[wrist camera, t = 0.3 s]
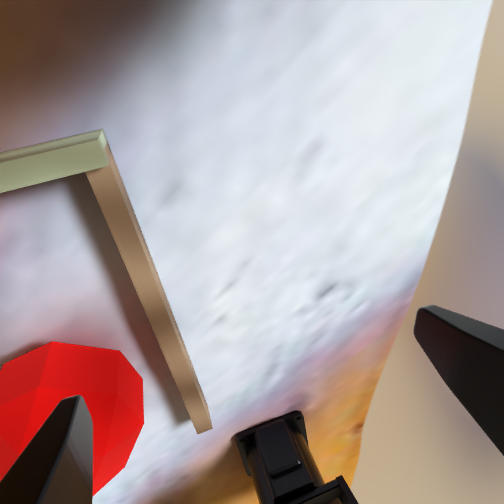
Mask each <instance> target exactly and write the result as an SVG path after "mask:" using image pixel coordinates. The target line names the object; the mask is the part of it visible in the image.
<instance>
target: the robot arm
mask: <svg viewBox="0 0 504 504" xmlns="http://www.w3.org/2000/svg"><path fill="white" fill-rule="evenodd" d="M414 335H415V338H416V340H417V341H418V343H419V344H420V346H421V347H422V349H423V350H424V352H425V353H426V355H427V356H428V358H429V359H430V361H431V362H432V364H433V365H434V367H435V368H436V370H437V371H438V373H439V374H440V376H441V377H442V379H443V380H444V381H445V383H446V385H447V386H448V387H449V388H450V390H451V391H452V392H453V394H454V395H455V396H456V397H457V398H458V400H459V401H460V402H461V404H462V405H463V406H464V407H465V408H466V410H467V411H468V412H469V413H470V415H471V416H472V417H473V418H474V419H475V421H476V422H477V423H478V425H479V426H480V427H481V428H482V430H483V431H484V432H485V433H486V434H487V436H488V437H489V438H490V439H491V441H492V442H493V443H494V444H495V446H496V447H497V448H498V449H499V451H500V452H501V453H502V454H503V456H504V330H503V329H500V328H498V327H495V326H492V325H489V324H486V323H483V322H481V321H478V320H475V319H472V318H469V317H466V316H464V315H461V314H458V313H455V312H452V311H449V310H446V309H444V308H441V307H438V306H435V305H429V306H424V307H421V308H419V309H418V311H417V314H416V320H415V325H414ZM236 442H237V445H238V448H239V451H240V454H241V457H242V460H243V463H244V466H245V469H246V472H247V474H248V476H252V479H253V483H254V486H255V490H256V493H257V497H258V500H259V504H358V502H357V500H356V499H355V497H354V495H353V493H352V492H351V490H350V488H349V487H348V485H347V483H346V481H345V480H344V478H343V476H342V475H340V476H338V477H336V479H335V480H332V481H330V482H328V483H326V484H325V483H324V481H323V479H322V476H321V474H320V472H319V470H318V468H317V465H316V463H315V461H314V459H313V457H312V454H311V452H310V450H309V446H308V440H307V434H306V428H305V422H304V416H303V414H302V412H301V411H296V412H293V413H291V414H288V415H286V416H283V417H281V418H278V419H275V420H273V421H270V422H268V423H265V424H263V425H260V426H258V427H255V428H252V429H250V430H247V431H245V432H242V433H240V434H238V435H237V436H236ZM92 497H93V422H92V418H91V415H90V413H89V410H88V408H87V405H86V403H85V401H84V398H83V397H82V396H81V395H75V396H71V397H67V398H64V399H62V400H61V401H60V402H59V403H58V404H57V406H56V407H55V408H54V410H53V411H52V412H51V414H50V415H49V417H48V418H47V419H46V421H45V422H44V423H43V425H42V426H41V427H40V429H39V430H38V431H37V433H36V434H35V435H34V437H33V438H32V439H31V441H30V442H29V443H28V445H27V446H26V448H25V449H24V450H23V452H22V453H21V454H20V456H19V457H18V458H17V460H16V461H15V462H14V464H13V465H12V466H11V468H10V469H9V470H8V472H7V473H6V474H5V476H4V477H3V479H2V480H1V481H0V504H92Z"/></svg>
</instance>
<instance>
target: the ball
mask: <svg viewBox="0 0 504 504" xmlns="http://www.w3.org/2000/svg"><path fill="white" fill-rule="evenodd" d="M75 395H81V396H82V397H83V398H84V401H85V403H86V405H87V408H88V410H89V413H90V415H91V418H92V422H93V496H94V495H95V494H96V493H97V492H98V491H99V490H100V489H101V488H102V487H104V486H105V485H106V484H107V483H108V482H109V481H110V480H111V479H112V478H113V477H114V476H116V475H117V474H118V473H119V472H120V471H121V470H122V469H123V468H124V467H125V465H126V463H127V461H128V459H129V456H130V454H131V452H132V449H133V447H134V445H135V443H136V440H137V438H138V436H139V434H140V431H141V429H142V427H143V424H144V408H143V379H142V378H141V376H140V375H139V374H138V373H137V371H136V370H135V369H134V368H133V366H132V365H131V364H130V363H129V362H128V360H127V359H126V358H125V357H124V355H123V354H122V353H121V352H120V351H118V350H111V349H104V348H96V347H89V346H82V345H74V344H67V343H59V342H49V343H47V344H45V345H43V346H41V347H39V348H37V349H35V350H32V351H30V352H28V353H26V354H24V355H22V356H20V357H18V358H15V359H13V360H11V361H9V362H7V363H5V364H3V366H2V368H1V371H0V481H1V480H2V479H3V477H4V476H5V474H6V473H7V472H8V470H9V469H10V468H11V466H12V465H13V464H14V462H15V461H16V460H17V458H18V457H19V456H20V454H21V453H22V452H23V450H24V449H25V448H26V446H27V445H28V443H29V442H30V441H31V439H32V438H33V437H34V435H35V434H36V433H37V431H38V430H39V429H40V427H41V426H42V425H43V423H44V422H45V421H46V419H47V418H48V417H49V415H50V414H51V412H52V411H53V410H54V408H55V407H56V406H57V404H58V403H59V402H60V401H61V400H62V399H64V398H67V397H71V396H75Z"/></svg>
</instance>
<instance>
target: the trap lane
mask: <svg viewBox="0 0 504 504" xmlns="http://www.w3.org/2000/svg"><path fill="white" fill-rule="evenodd" d="M82 172H85V173H86V175H87V178H88V180H89V182H90V185H91V187H92V189H93V192H94V194H95V196H96V199H97V201H98V203H99V206H100V208H101V210H102V213H103V215H104V217H105V220H106V222H107V224H108V227H109V229H110V231H111V234H112V236H113V238H114V241H115V243H116V245H117V248H118V250H119V252H120V255H121V257H122V259H123V262H124V264H125V266H126V268H127V271H128V273H129V275H130V278H131V280H132V282H133V285H134V287H135V289H136V292H137V294H138V296H139V299H140V301H141V303H142V306H143V308H144V310H145V313H146V315H147V317H148V320H149V322H150V324H151V327H152V329H153V331H154V334H155V336H156V338H157V341H158V343H159V345H160V348H161V350H162V352H163V355H164V357H165V359H166V362H167V364H168V366H169V369H170V371H171V373H172V376H173V378H174V380H175V383H176V385H177V387H178V390H179V392H180V394H181V397H182V399H183V401H184V404H185V406H186V408H187V411H188V413H189V415H190V418H191V420H192V422H193V425H194V427H195V429H196V432H197V434H200V433H203V432H205V431H208V430H210V429H213V428H212V424H211V419H210V415H209V410H208V405H207V403H206V400H205V398H204V395H203V392H202V390H201V387H200V384H199V382H198V379H197V376H196V374H195V371H194V369H193V366H192V363H191V361H190V358H189V355H188V353H187V350H186V347H185V345H184V342H183V339H182V337H181V334H180V332H179V329H178V326H177V324H176V321H175V318H174V316H173V313H172V310H171V308H170V305H169V303H168V300H167V297H166V295H165V292H164V289H163V287H162V284H161V281H160V279H159V276H158V273H157V271H156V268H155V266H154V263H153V260H152V258H151V255H150V252H149V250H148V247H147V244H146V242H145V239H144V237H143V234H142V231H141V229H140V226H139V223H138V221H137V218H136V215H135V213H134V210H133V207H132V205H131V202H130V200H129V197H128V194H127V192H126V189H125V186H124V184H123V181H122V178H121V176H120V173H119V171H118V168H117V165H116V163H115V160H114V157H113V155H112V152H111V149H110V147H109V144H108V141H107V139H106V136H105V134H104V131H103V129H99V130H95V131H91V132H87V133H82V134H78V135H74V136H70V137H65V138H61V139H57V140H52V141H48V142H44V143H40V144H35V145H31V146H27V147H23V148H18V149H14V150H10V151H6V152H1V153H0V193H3V192H7V191H10V190H14V189H18V188H22V187H26V186H30V185H34V184H38V183H42V182H46V181H50V180H54V179H58V178H62V177H66V176H70V175H74V174H78V173H82Z"/></svg>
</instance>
